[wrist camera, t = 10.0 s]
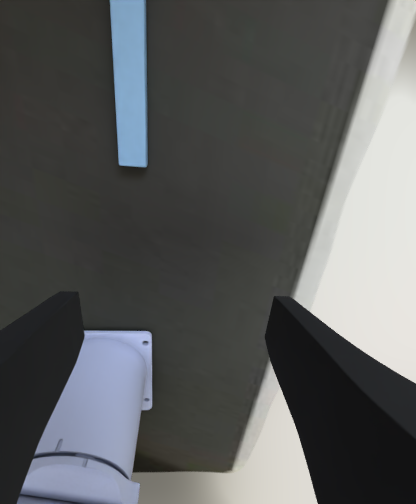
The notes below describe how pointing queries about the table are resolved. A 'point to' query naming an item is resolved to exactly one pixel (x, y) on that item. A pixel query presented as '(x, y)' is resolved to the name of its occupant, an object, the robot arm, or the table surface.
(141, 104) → the spoon
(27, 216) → the table surface
